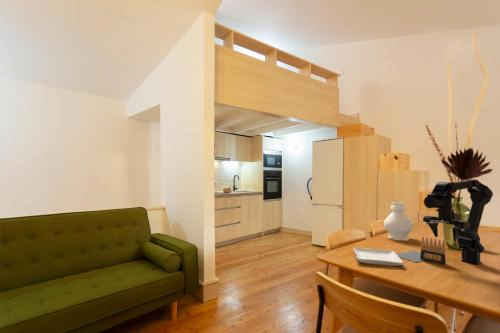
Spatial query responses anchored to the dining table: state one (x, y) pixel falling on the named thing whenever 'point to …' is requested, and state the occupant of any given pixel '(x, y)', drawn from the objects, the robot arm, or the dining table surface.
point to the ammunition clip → (433, 251)
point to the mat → (411, 256)
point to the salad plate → (378, 256)
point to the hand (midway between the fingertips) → (445, 239)
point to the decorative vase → (398, 222)
